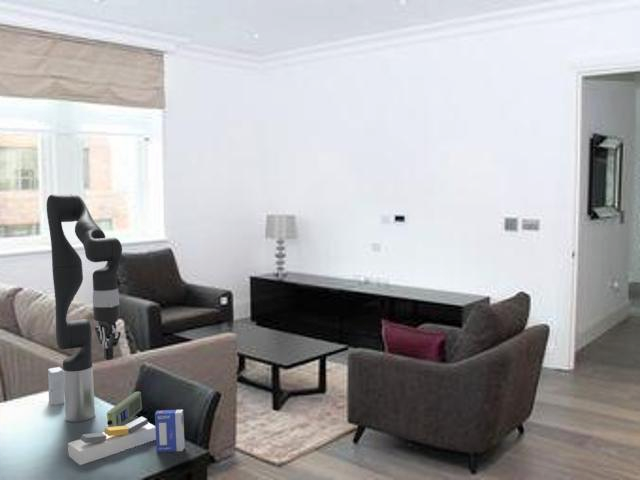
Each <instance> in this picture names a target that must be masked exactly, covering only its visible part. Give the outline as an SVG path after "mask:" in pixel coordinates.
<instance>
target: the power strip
mask: <svg viewBox="0 0 640 480" xmlns="http://www.w3.org/2000/svg"><path fill="white" fill-rule="evenodd" d="M101 433H103V434H105V433H104V431H102V432H101ZM105 435H106V441H103V442H94V443H84V442H83V441H82V440H81V438H80V439H76V440H73V441H70V442H67V448H68V449H67V450H68V457H69V458H70V459H72V460H73V461H74V462H75V463H77V465H80V466H82V465H84V464H85V465H86V464H88V463H91V462H94V461H97V460H100V459H103V458H106V457H109V456H113V455H116V454H118V453H120V451H121V452H123V451H126V449H127V450H129V448H130V449H133V448H135V446H136V447H139V446H141V444H142V445H144V443H145V444H148V443H151V442H153V440H154V441H156V428H155V425H154V424H152V423H150V422H148V424H147V425H145V426H143V427H141V428H139V429H138V430H136V431H134V432H132V433H129V432H128V434H124V435H114V436H108V435H107V434H105ZM150 441H151V442H150ZM147 442H148V443H147ZM138 445H139V446H138ZM132 447H133V448H132Z"/></svg>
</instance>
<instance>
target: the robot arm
mask: <svg viewBox="0 0 640 480" xmlns="http://www.w3.org/2000/svg"><path fill="white" fill-rule="evenodd" d="M46 216H47V222H48V230H49V235H50V236H49V237H50V247H51V266H52V268H51V269H52V280H53V288H54V289H53V290H54V299H55V300H54V301H55V339H56V345H57V348H58V349H59V350H72V349H79V348H80V349H79V350H78V351H76V353H73V354H72V355H70V356H68V357H66V358H65V359H64V360H63V361H62V370H63V378H64V408H65V409H64V411H65V420H66V421H67V422H72V423H73V422H74V423H77V422H78V423H79V422H85V421H87V420H91V419H92V418H94V417H95V416H96V415H95V414H96V413H95V412H96V411H95V410H96V409H95V408H96V406H95V392H94V390H95V389H94V373H93V370H94V369H93V356H92V355H93V353H92V350H93V349H92V344H93V343H92V338H93V337H92V336H93V335H92V334H93V333H92V330H93V329H92V325H91V322H90V321H89V320H88V318H87V319H86V318H84V319H83V318H82V319H73V320H67V315H68V313H69V312H68V311H69V309H70V306H71V304H72V302H73V299H74V298H75V297H76V294H77V293H78V291H79V290H80V288H81V286H82V284H83V280H84V274H83V273H84V272H83V263H82V258H81V257H80V255H79V254H78V252H77V250H76V249H75V248H74V246H73V245H72V244H71V243H70V242H69V241H68V239H67V236H66V234H65V232H64V229H63V224H62V223H69V222H71V223H72V222H76V223H75V225H74V234H75V236H76V238H77V239H78V240H79V242H80V243H81V244H82V245H83V248H84V254H85V257H86V260H87V261H89V262H91V263H103V262H106V264H105V266H104V267H102V268H99V269H96V270H94V272H93V273H92V288H93V289H92V290H93V291H92V292H93V293H92V306H93V308H92V309H93V319H94V321H96V322H98V324H97V325H98V326H95V327H94V330H95V333H96V336H97V338H98V342H99V344H100V345H102V348H103V355H104V359H105V360H106V361H110V360H114V348H115V347H118V343H119V341H120V338H121V335H122V334H121V332H120V331H117V323H116V321H117V320H118V319H119V318H120V317H121V312H120V295H119V289H118V288H119V286H118V272H119V271H118V270H119V266H120V262H121V259H122V254H123V247H122V246H123V245H122V243H121V241H120V240H119V239H118V238H116V237H106V233H105V232H104V231H103V230H102V228H100V226H99V225H98V224H96V222H95V220H94V219H93V218H92V215H91V213H90V211H89V208H88V207H87V205H86V203H85V202H84V200H83V198H82V197H81V196H80V195H78V194H73V193H72V194H63V193H62V194H58V193H57V194H56V193H55V194H50V195H48V197H47V200H46Z"/></svg>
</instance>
